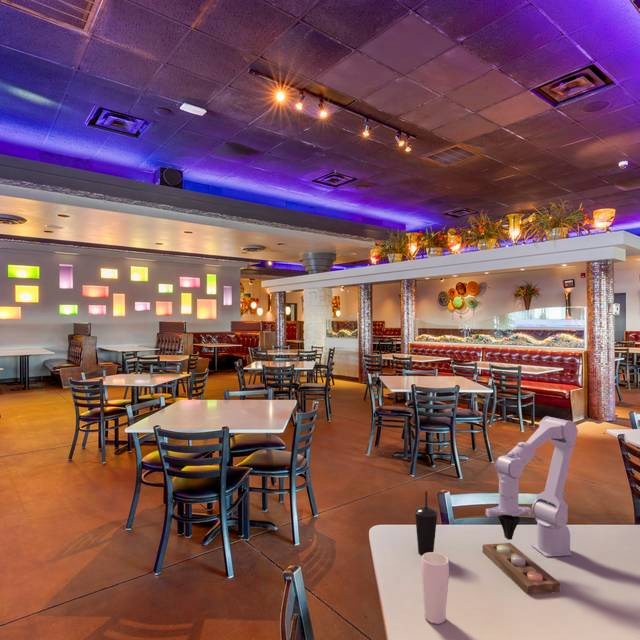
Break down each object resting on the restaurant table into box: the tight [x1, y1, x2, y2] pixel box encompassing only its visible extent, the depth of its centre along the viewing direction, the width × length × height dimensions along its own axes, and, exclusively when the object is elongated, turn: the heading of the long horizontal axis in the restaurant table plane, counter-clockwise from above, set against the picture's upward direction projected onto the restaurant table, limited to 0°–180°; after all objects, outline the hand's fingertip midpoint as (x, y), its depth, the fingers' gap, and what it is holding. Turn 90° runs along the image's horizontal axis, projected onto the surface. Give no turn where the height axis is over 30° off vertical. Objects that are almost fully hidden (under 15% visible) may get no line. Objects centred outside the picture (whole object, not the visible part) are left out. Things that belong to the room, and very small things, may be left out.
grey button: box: [511, 555, 525, 567], centre depth 136 cm, size 4×4×3 cm
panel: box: [482, 542, 561, 596], centre depth 136 cm, size 10×24×2 cm, turn 9°
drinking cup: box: [413, 490, 439, 557], centre depth 146 cm, size 8×8×20 cm
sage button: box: [497, 545, 510, 554], centre depth 144 cm, size 4×4×3 cm
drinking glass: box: [421, 551, 450, 625], centre depth 113 cm, size 7×7×15 cm
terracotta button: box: [527, 571, 543, 582], centre depth 128 cm, size 4×4×3 cm
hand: (508, 538), depth 141 cm, fingers closed
